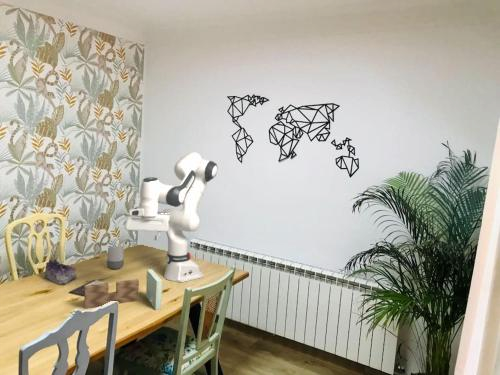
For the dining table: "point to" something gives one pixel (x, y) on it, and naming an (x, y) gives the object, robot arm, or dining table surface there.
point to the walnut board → (100, 295)
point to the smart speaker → (115, 258)
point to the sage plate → (154, 289)
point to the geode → (59, 272)
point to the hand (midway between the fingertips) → (146, 239)
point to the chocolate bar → (81, 289)
